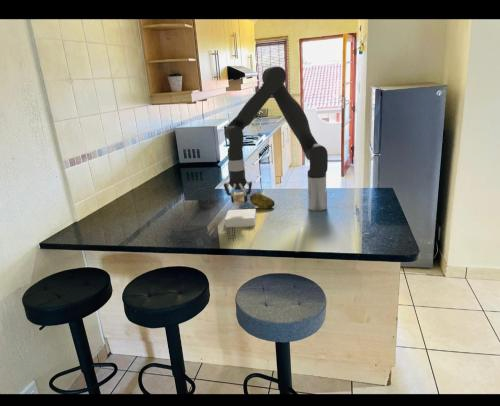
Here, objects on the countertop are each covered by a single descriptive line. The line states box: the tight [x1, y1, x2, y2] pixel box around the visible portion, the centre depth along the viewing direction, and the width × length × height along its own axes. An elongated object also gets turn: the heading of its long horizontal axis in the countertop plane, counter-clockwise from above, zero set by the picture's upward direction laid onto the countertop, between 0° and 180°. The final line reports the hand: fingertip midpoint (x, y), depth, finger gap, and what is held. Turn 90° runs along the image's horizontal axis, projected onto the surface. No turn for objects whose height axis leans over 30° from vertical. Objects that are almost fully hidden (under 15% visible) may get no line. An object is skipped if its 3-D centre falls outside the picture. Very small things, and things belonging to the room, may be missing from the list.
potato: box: [249, 192, 276, 210], centre depth 201 cm, size 8×13×8 cm, turn 52°
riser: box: [224, 208, 257, 228], centre depth 185 cm, size 14×13×4 cm
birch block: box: [233, 191, 246, 207], centre depth 181 cm, size 5×5×5 cm
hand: (239, 202), depth 182 cm, fingers closed on birch block, 5 cm apart
